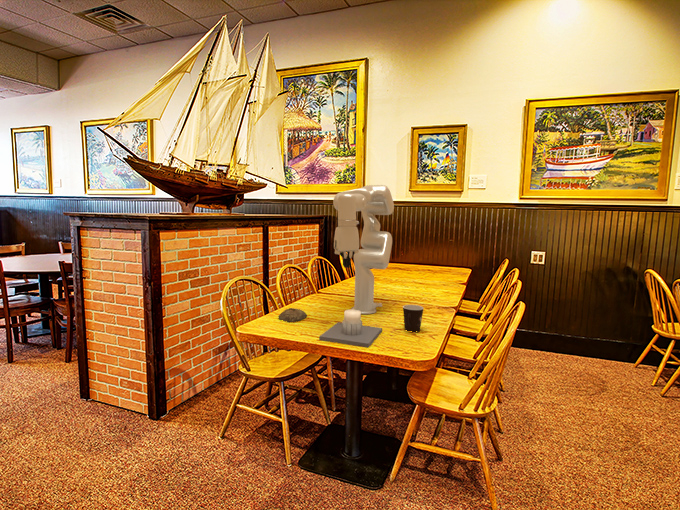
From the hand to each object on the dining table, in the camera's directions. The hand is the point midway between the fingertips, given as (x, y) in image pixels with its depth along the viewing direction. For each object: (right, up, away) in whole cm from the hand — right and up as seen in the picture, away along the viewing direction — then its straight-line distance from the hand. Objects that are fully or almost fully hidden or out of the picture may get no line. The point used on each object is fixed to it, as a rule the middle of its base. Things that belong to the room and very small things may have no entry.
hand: (346, 267), depth 157 cm
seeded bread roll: (-26, -25, +16) cm, 39 cm away
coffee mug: (+27, -27, +1) cm, 38 cm away
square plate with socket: (+2, -28, -7) cm, 29 cm away
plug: (+2, -26, -7) cm, 27 cm away
